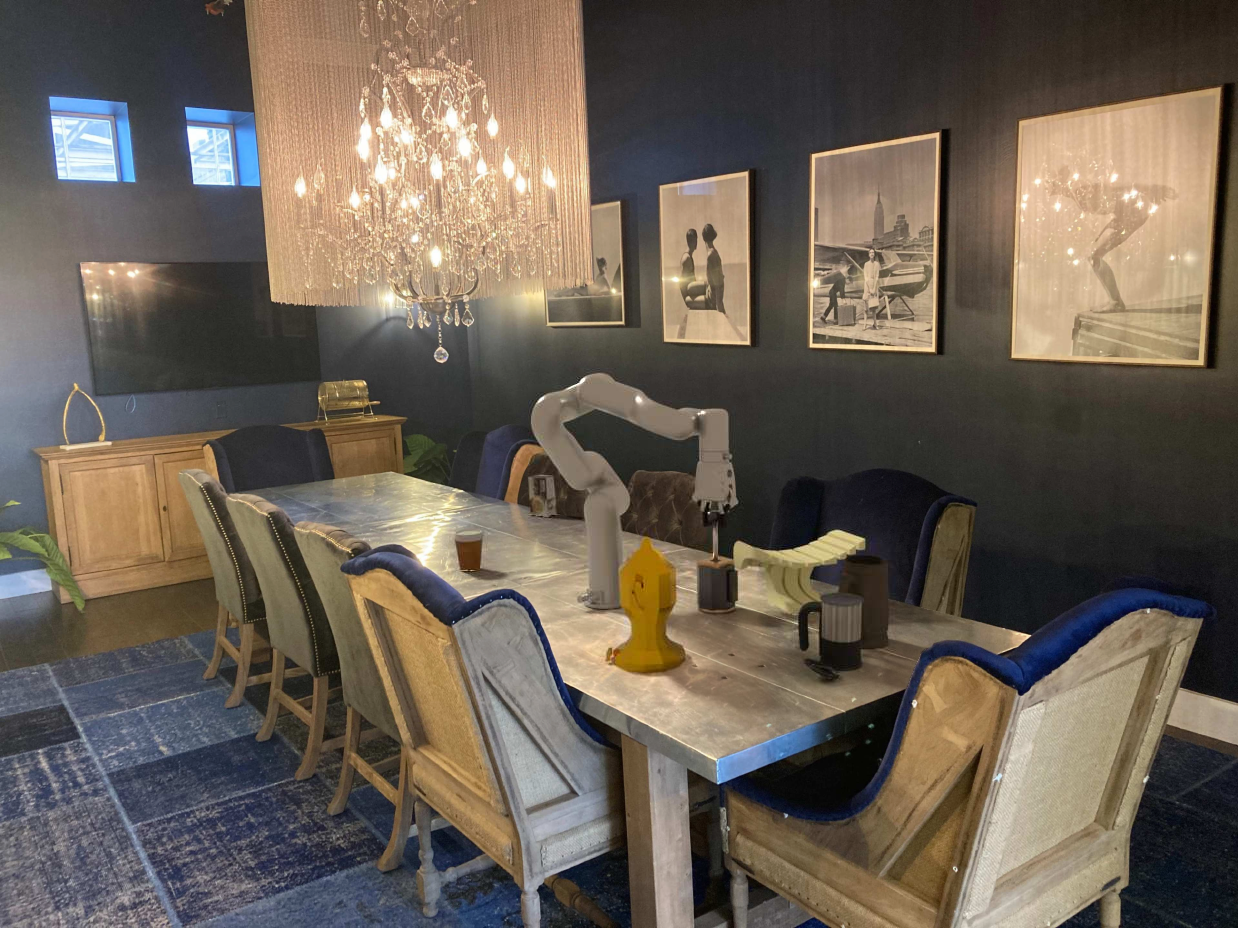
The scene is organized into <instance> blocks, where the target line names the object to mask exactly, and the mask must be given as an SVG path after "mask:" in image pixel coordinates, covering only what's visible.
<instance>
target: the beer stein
mask: <svg viewBox="0 0 1238 928" xmlns="http://www.w3.org/2000/svg"><path fill="white" fill-rule="evenodd" d="M887 560H888V559H886V558H885V557H882V556H879V555H873V554H853V555H849V556H846V558H845V559H843V565H842V568H843V572H841V573H840V574H839V585H838V590H837V591H838V592H837V593H849V594H854V595H858V596H860V597H862V598H863V599H864V602H863V603H862V612H861V649H879V648H883V646H884V647H885V646H887V645H889V643H890V639H889V635H888V631H889V625H890V624H889V623H890V622H889V620H890V615H889V614H890V613H889V610H890V604H889V603H890V602H889V600H890V591H889V590H890V589H889V584H888V578H889V577H888V576H889V575H888V570H889V565H888V561H887Z"/></svg>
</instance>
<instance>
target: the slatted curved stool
mask: <svg viewBox="0 0 1238 928" xmlns="http://www.w3.org/2000/svg"><path fill="white" fill-rule="evenodd" d="M863 550H866V538H863V537H862V536H857V535H855V534H852V533H849V532H845V531H843V530H840V529H834V530H831V531H829V532H827V533H826V535H823V536H821V537H818V538H817V540H814V541H811V542H809V543H808V544H806V545H803V546H802V545H801V546H800V547H799V546H798V547H795V548H793V549H792V548H791V549H784V550H778V551H777V550H768V549H767V550H766V549H761V548H759V547H754V546H751V545H749V544H747V543H745V542H743V541H740V540H737V541H735V543H734V546H733V560H734V565H735V568H737V569H739V570H740V571H741V570H744V569H747V568H748V567H749V566H750V567H751V568H752V567H753V568H754V567H761V571H762V572H763V576H764V580H765V587H766V589H765V590H766V595H765V596H766V602H767V601H768V602H770V603H772V604H774V605H776V606H777V607H779V608H781V609H783V610H785V611H787V612H789V613H790V614H792V615H794V614H798V613H799V611H800V609H801V607H802V606H803V605H804V604H806V603H808V602H813V601H815V602H821V600H820V597H821V595H820V594H818V592H816V591H815V590H814V589H813V587H812V586H811V584H810V583H811V582H810V580H811V579H810V578H811V574H812V572H813V570H814V567H820V566H821V565H822V566H827V565H834V564H835V565H836V564H838V560H844V559H845V558H847V556H848V555H849V556H854V555H857V553H856V552H857V551H863ZM768 602H767V603H768ZM777 607H776V608H777ZM790 614H789V615H790ZM792 615H791V616H792ZM794 616H795V615H794Z"/></svg>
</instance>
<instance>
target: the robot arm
mask: <svg viewBox="0 0 1238 928" xmlns="http://www.w3.org/2000/svg"><path fill="white" fill-rule="evenodd" d="M594 410H597V411H600V412H604V413H607V414H610V415H612V416H615V417H618V418H620V419H623V420H626V421H629V422H630V423H632V424H633V425H636V426H638V427H641V428H642V429H644V430H646V431H648V432H650V433H653V434H656V435H660V436H663V437H665V438H667V439H671V440H676V441H684V440H686V439H688V438H690V437H693V436H698V442H699V445H698V447H699V448H698V450H699V451H698V452H699V461H698V462H697V466H696V473H695V483H694V486H695V487H694V488H695V491H694V492H693V495H692V496H691V498H692V500H693V501H694V502H695V503H697V506H699V508H700V511H701V512H702V527H704V528H708V527H710V526H711V527H712V526H713V522H708V521H707V511H710V510H711V506H712V502H715V503H717V505H718V506H717V507H718V510H719V512H720V514H718V522H717V530H723V529H726V528H727V527H728V513H730V510H732V508H734V507H735V506H736V505H738V504H739V500H738V498H737V493H736V492H737V491H736V478H735V473H734V472H735V471H734V467H733V463H732V462H730V460H732V459H733V454H731V453H730V451H729V450H730V448H729V441H730V440H729V413H728V411H727V410H726V409H723V408H706V409H702V408H701V409H699V408H693V407H682V408H680V409H676V408H672V407H669V406H667V405H664V404H661V403H659V402H656V401H654V400H653V399H651V398H649V397H648V396H647V395H646V393H644V391H642V390H640V389H638V388H637V387H636V388H635V387H632V386H630V385H626V384H623V383H622V382H621V383H620V382H618V381H615V379H614V378H612V376H610V375H609V374H606V373H603V372H598V373H592V374H588V375H586V376H584V377H583V378H582V379H581V380H580V381H579V382H578V383H577V384H574V385H572V386H570V387H567V388H565V389H563V390H562V389H561V390H560V391H553V392H549V393H547V394H545V395H543V396H542V397H540V398H539V399H538V400H537V402H536V403H535V405H534V407H533V408H532V412H531V416H530V417H531V418H530V425H531V430H532V433H533V435H534V437H535V439H536V440H537V442H538V443H539V445H540V446H541V447H542V449H543V450H544V451H545V453H546V454H547V456H548V457H549V459H550V460H551V462H552V463H553V465H554V466H555V467H556V469H557V470H558V472H559V473H560V475H561V476H562V477H563V479H564V480H565V481H566V483H567V484H568V485H569V486H570V487H571V488H572V489H574V490H577V491H583V490H587V491H588V493H589V494H588V496H587V497H586V499H585V502H584V505H583V515H584V522H585V527H586V538H587V539H586V542H587V565H588V566H587V567H588V569H587V570H588V588H586V592H585V593H584V594H581V595H578V596H577V598H576V600H577V602H578V603H579V604H581V603H583V605H585V606H586V607H588V608H591V609H600V610H611V609H619V608H622V606H621V604H620V601H619V570H618V568H619V566H620V565H621V564H622V563H623V562H624V545H623V544H624V542H623V540H624V538H623V530H622V524H621V516H622V515H623V514H625V512H627V510H629V507H630V502H631V497H630V492H629V490H628V489H627V487H626V485H625V484H624V483H623V482H622V480H621V478H620V477H619V476H618V474H617V473H616V471H614V469H613V467H612V466H611V465H610V464H609V462H608V460H606V459H605V458H604V457H603V456H602V455H601V454H599V453H598V452H595V451H592V450H590V451H589V450H586V451H585V450H584V449H583V447H582V446H581V445H580V444H579V443H578V441H577V440H576V438H575V436H573V434H572V433H570V431H568V429H567V428H566V427H565V426H564V423H566V422H569V421H572V420H575V419H577V418H579V417H581V416H583V415H586V414H588V413H589V412H592V411H594Z"/></svg>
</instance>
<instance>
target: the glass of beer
mask: <svg viewBox="0 0 1238 928" xmlns="http://www.w3.org/2000/svg"><path fill="white" fill-rule="evenodd" d="M484 537H485V535H484V533H483V530H481V529H474V528H472V529H471V528H470V529H460V530H457V531H455V532H454V534H453V537H452V538H453V540H454V542H455V548H456V549H455V550H456V554H457V560H458V565H459V571H460V570H468V571H470V570H478V569H480V570H481V567H482V566H481V564H482V552H483V551H482V550H483V539H484ZM478 571H479V570H478Z"/></svg>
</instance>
